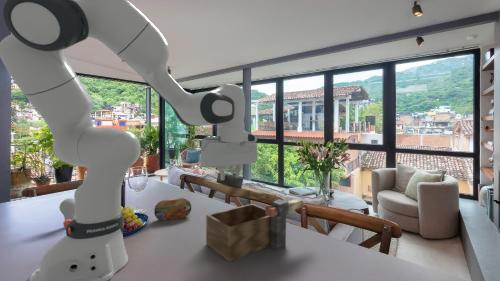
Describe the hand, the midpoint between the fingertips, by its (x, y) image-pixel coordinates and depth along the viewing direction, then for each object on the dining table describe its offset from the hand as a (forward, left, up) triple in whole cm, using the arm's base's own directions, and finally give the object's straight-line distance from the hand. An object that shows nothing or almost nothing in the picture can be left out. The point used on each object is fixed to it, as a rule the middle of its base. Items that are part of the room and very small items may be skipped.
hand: (230, 179), depth 81 cm
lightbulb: (-40, +52, -23) cm, 69 cm away
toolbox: (+5, -2, -23) cm, 23 cm away
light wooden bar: (+16, -9, -11) cm, 22 cm away
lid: (+3, -2, -6) cm, 7 cm away
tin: (-5, +36, -23) cm, 43 cm away
